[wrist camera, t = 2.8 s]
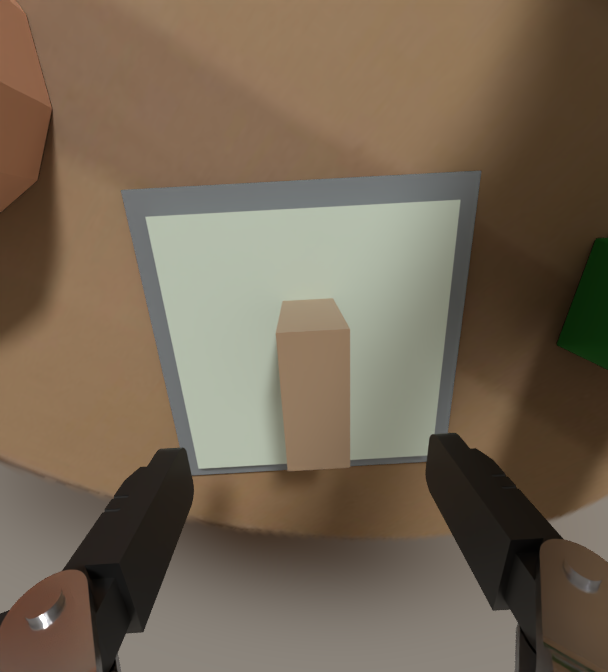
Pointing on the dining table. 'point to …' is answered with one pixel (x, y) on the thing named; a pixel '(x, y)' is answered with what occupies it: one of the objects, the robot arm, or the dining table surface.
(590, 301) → the milk carton
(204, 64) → the dining table surface
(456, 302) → the mat
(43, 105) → the bowl
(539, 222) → the dining table surface
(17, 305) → the dining table surface
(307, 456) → the lid
